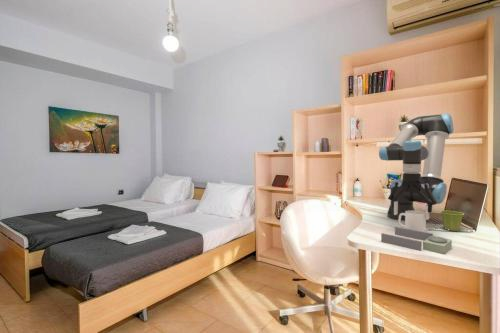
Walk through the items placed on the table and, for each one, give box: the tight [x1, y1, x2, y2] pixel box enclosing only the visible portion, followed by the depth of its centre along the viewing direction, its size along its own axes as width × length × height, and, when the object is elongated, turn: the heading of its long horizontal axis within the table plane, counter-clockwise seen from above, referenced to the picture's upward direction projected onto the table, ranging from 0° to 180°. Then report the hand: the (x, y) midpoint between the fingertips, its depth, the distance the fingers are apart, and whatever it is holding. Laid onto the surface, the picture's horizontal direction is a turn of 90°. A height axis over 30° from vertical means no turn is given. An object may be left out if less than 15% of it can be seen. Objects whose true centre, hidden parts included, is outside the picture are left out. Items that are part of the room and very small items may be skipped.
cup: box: [397, 210, 427, 232], centre depth 125 cm, size 8×12×10 cm
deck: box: [380, 226, 453, 255], centre depth 110 cm, size 16×22×4 cm
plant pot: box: [439, 210, 465, 232], centre depth 128 cm, size 9×9×9 cm
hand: (410, 216), depth 125 cm, fingers open, 13 cm apart
